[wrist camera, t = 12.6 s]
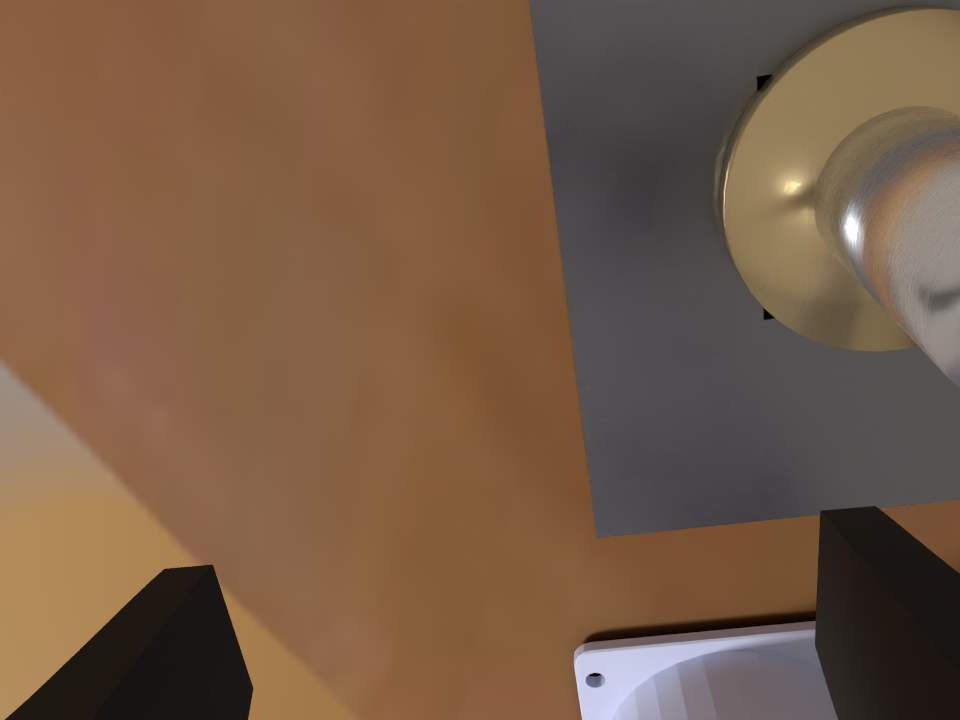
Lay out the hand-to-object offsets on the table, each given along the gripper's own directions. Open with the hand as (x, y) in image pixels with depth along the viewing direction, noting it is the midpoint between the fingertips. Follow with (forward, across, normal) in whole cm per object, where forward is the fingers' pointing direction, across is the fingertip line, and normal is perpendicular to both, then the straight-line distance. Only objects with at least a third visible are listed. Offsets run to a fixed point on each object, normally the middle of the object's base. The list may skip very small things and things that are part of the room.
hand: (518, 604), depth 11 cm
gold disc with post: (+10, -7, -2) cm, 13 cm away
